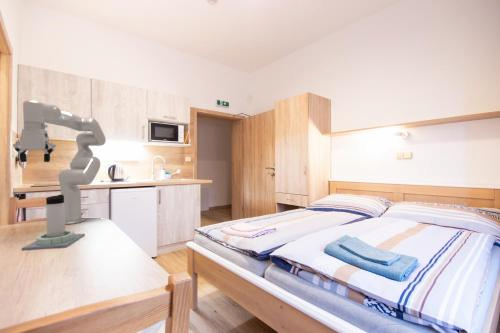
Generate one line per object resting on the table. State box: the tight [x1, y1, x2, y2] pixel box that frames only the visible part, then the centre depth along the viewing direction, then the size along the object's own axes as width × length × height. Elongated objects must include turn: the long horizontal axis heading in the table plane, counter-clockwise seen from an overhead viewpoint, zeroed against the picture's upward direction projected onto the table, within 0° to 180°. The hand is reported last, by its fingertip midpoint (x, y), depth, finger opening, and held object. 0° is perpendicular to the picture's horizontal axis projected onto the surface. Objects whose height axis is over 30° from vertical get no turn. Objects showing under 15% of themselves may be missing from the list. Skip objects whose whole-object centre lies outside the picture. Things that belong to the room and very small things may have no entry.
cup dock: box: [21, 229, 86, 251], centre depth 106 cm, size 16×16×4 cm
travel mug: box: [45, 194, 66, 238], centre depth 106 cm, size 6×7×20 cm
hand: (35, 161), depth 115 cm, fingers open, 9 cm apart
